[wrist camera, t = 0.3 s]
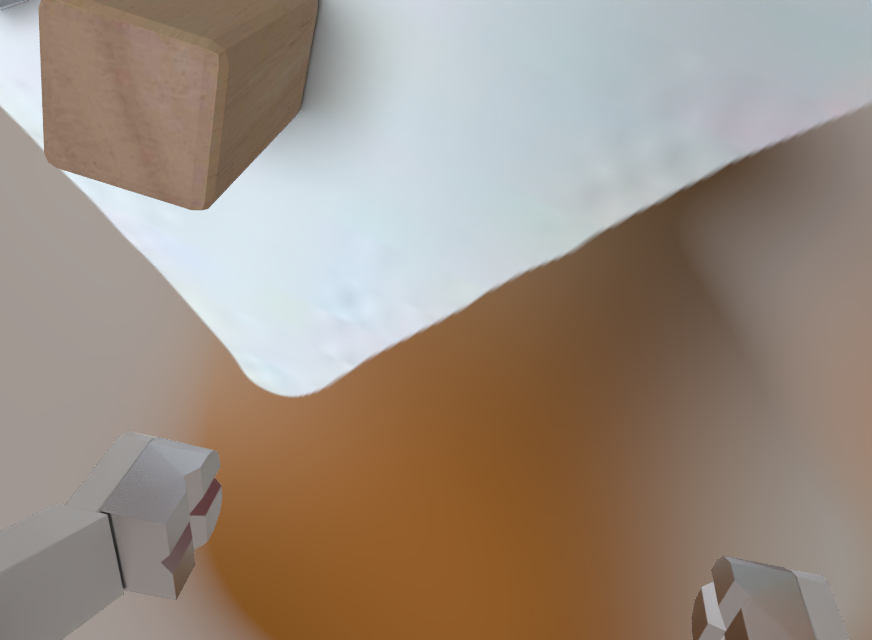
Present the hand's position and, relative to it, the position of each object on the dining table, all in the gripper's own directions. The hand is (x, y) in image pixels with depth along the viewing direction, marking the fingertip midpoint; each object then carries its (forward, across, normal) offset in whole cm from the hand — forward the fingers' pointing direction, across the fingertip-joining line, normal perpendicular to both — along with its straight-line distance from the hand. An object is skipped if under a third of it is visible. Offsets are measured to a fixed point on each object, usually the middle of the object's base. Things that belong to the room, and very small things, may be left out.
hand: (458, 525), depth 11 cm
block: (+47, +22, +5) cm, 52 cm away
